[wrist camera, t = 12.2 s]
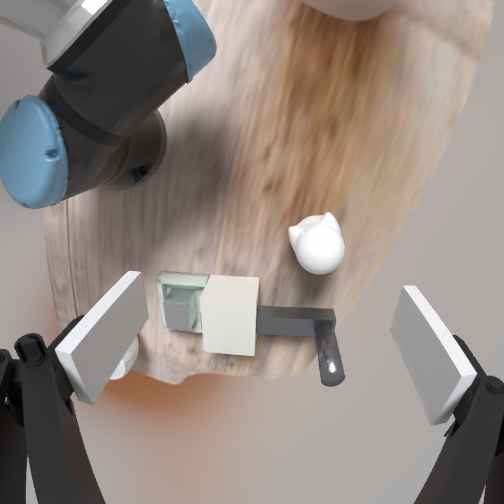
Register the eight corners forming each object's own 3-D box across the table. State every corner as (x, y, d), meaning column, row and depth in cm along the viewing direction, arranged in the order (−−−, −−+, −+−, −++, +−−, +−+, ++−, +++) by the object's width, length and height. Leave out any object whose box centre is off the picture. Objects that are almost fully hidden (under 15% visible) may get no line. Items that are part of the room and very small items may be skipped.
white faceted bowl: (88, 300, 53) (63, 326, 44) (140, 305, 52) (117, 336, 43) (104, 347, 58) (84, 375, 49) (152, 355, 57) (135, 387, 48)
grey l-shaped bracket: (205, 318, 48) (183, 377, 35) (204, 301, 47) (180, 359, 34) (330, 325, 47) (343, 386, 34) (333, 308, 46) (348, 369, 33)
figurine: (327, 201, 42) (344, 224, 31) (343, 246, 45) (362, 281, 34) (283, 218, 44) (284, 247, 33) (301, 262, 46) (307, 302, 35)
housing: (213, 324, 52) (204, 351, 45) (210, 274, 48) (199, 298, 41) (257, 328, 52) (254, 356, 45) (259, 277, 48) (256, 302, 41)
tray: (168, 319, 53) (163, 328, 50) (162, 271, 49) (156, 278, 46) (212, 324, 52) (209, 333, 50) (209, 274, 48) (205, 282, 46)
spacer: (197, 314, 51) (175, 312, 51) (195, 289, 49) (172, 287, 49) (190, 331, 46) (166, 328, 46) (187, 304, 44) (162, 302, 45)
